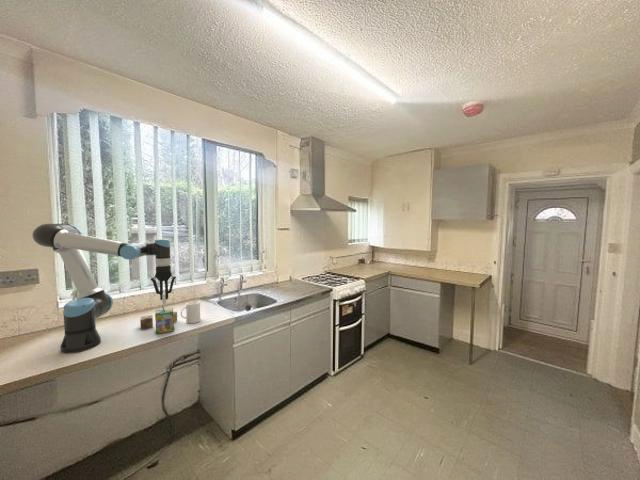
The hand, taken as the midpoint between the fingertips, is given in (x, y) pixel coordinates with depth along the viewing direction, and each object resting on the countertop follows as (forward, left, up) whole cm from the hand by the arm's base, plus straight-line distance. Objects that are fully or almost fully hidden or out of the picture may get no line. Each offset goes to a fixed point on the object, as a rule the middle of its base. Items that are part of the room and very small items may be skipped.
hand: (164, 304), depth 153 cm
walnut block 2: (+1, +12, -15) cm, 19 cm away
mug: (+13, +9, -15) cm, 22 cm away
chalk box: (0, 0, -15) cm, 15 cm away
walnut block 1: (-11, +9, -15) cm, 21 cm away
